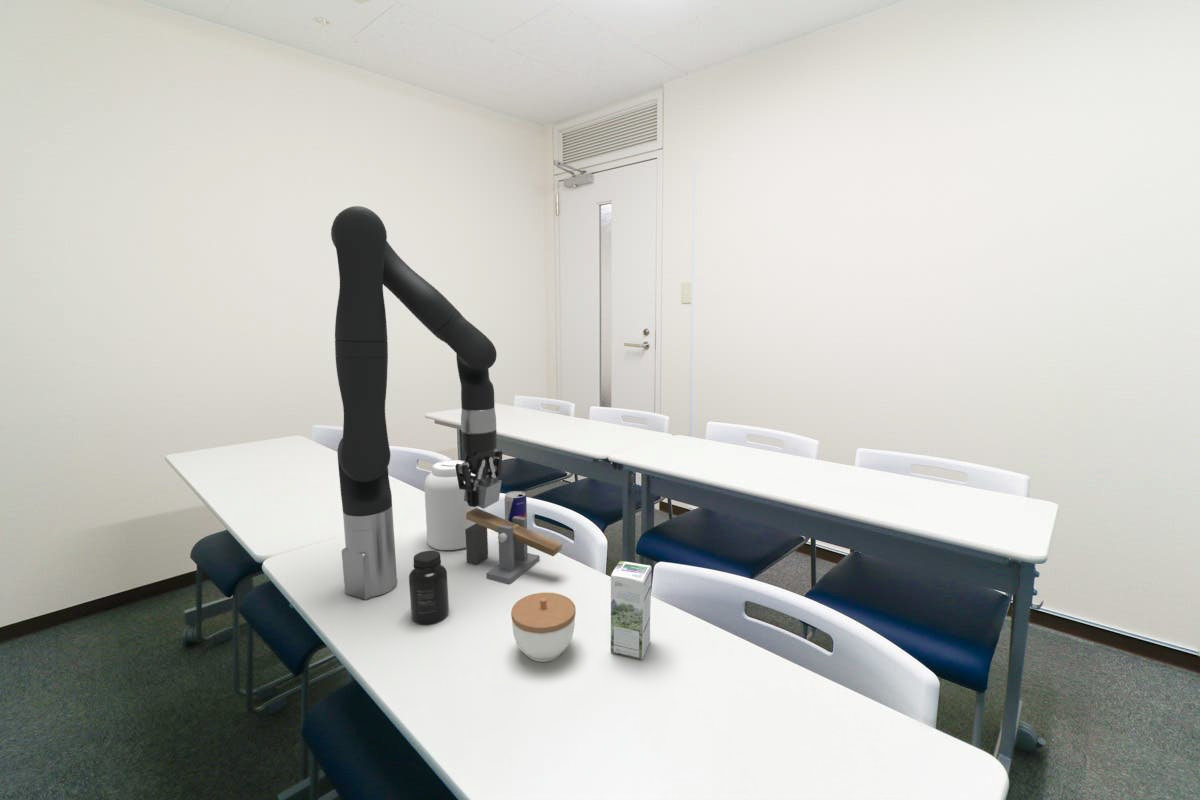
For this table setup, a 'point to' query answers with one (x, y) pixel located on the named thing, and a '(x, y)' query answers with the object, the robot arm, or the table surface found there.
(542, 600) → the lidded jar
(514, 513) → the energy drink
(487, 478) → the block
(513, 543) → the stand
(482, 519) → the beam
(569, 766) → the table surface
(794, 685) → the table surface
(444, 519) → the white protein powder tub
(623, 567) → the syrup box
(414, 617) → the supplement bottle
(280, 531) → the table surface
